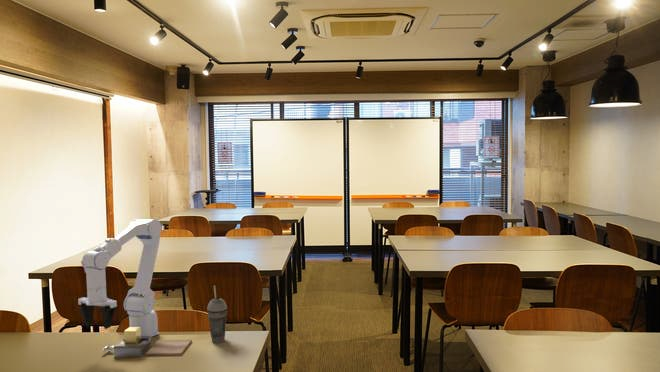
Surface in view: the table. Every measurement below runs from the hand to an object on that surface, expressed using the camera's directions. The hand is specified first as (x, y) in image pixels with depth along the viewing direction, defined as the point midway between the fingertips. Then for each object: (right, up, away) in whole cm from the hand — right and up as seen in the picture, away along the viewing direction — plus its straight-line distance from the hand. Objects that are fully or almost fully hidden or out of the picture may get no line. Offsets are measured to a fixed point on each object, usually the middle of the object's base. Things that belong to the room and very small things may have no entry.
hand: (98, 326), depth 159 cm
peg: (+10, -10, +4) cm, 15 cm away
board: (+22, -9, +6) cm, 24 cm away
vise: (+7, -10, +4) cm, 13 cm away
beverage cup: (+37, -9, +13) cm, 40 cm away
